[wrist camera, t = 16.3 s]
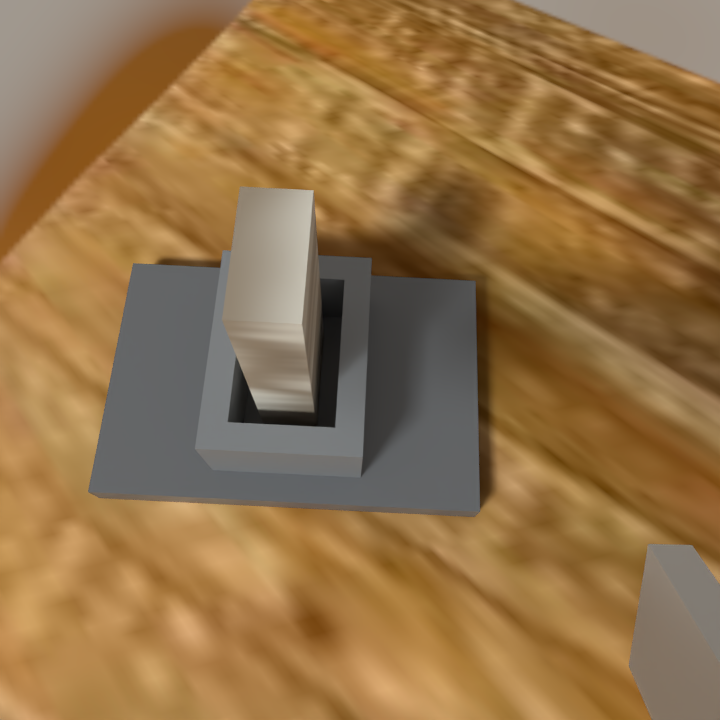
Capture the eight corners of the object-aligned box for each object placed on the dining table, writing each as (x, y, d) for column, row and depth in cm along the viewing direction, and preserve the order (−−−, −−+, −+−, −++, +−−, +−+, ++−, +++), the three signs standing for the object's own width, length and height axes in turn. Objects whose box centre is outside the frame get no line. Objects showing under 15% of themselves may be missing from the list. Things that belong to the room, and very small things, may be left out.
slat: (324, 334, 34) (313, 190, 23) (316, 429, 32) (301, 324, 21) (274, 331, 34) (240, 186, 23) (264, 426, 32) (221, 319, 21)
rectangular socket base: (470, 294, 37) (490, 240, 32) (474, 516, 32) (498, 495, 27) (141, 277, 37) (108, 220, 31) (99, 497, 32) (52, 473, 27)
